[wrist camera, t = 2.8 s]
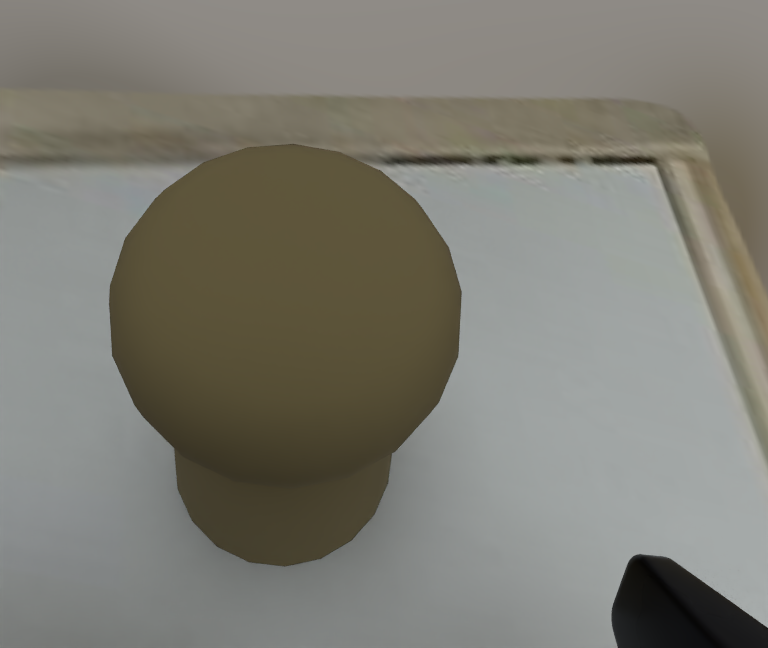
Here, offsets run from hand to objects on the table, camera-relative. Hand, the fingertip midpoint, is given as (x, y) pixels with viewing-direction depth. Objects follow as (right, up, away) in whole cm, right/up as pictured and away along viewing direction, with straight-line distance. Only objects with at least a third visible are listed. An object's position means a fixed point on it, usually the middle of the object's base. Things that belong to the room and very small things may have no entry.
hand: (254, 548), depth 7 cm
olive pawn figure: (-1, -1, +11) cm, 11 cm away
